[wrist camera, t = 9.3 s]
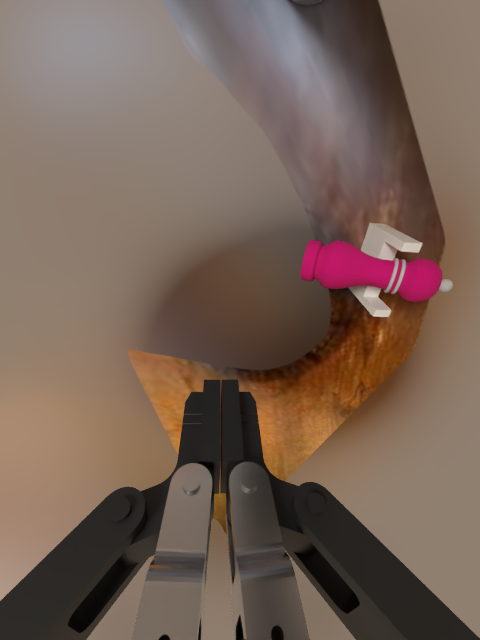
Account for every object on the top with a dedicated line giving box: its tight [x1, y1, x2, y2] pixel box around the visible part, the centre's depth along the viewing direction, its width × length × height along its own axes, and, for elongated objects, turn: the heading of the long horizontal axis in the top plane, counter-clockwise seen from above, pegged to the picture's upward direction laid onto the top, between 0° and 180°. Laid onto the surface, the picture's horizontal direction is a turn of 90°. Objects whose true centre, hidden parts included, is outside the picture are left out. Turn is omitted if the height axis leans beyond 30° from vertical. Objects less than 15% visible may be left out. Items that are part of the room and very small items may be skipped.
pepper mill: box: [301, 240, 453, 302], centre depth 39 cm, size 7×7×20 cm
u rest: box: [348, 223, 423, 317], centre depth 42 cm, size 11×2×10 cm, turn 175°
